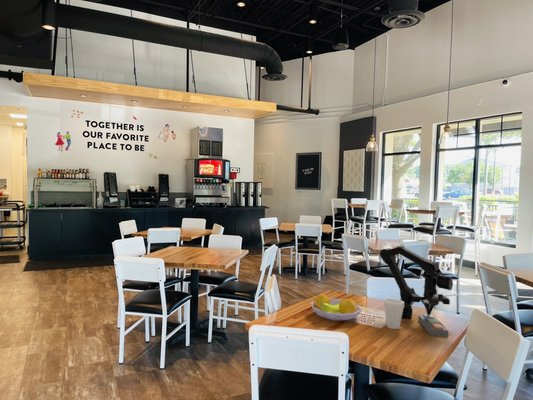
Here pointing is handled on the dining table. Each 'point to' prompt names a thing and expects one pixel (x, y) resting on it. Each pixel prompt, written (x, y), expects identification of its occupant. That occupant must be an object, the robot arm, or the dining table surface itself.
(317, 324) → the dining table surface
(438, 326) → the terracotta button
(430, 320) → the sage button
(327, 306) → the fruit bowl
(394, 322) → the foam cup
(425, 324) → the button panel
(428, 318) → the slate blue button
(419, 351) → the dining table surface
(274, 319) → the dining table surface
